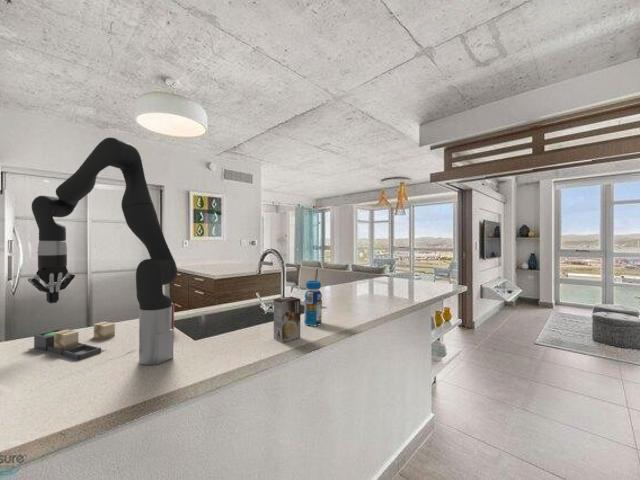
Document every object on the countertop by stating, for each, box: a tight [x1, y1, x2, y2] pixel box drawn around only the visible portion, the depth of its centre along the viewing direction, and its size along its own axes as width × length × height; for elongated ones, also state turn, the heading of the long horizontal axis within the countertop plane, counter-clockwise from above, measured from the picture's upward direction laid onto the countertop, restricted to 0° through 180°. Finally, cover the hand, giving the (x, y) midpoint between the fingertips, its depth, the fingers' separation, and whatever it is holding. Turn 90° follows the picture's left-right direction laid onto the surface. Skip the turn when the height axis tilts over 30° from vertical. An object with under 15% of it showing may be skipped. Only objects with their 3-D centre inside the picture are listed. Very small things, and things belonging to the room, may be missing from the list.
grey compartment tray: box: [27, 328, 107, 363], centre depth 99 cm, size 25×10×6 cm, turn 68°
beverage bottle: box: [303, 280, 323, 327], centre depth 136 cm, size 8×8×20 cm
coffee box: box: [273, 296, 301, 343], centre depth 116 cm, size 9×6×16 cm
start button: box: [44, 332, 55, 337], centre depth 102 cm, size 4×4×3 cm
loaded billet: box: [54, 329, 79, 350], centre depth 99 cm, size 6×4×6 cm, turn 68°
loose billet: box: [93, 321, 116, 340], centre depth 112 cm, size 6×4×6 cm, turn 68°
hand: (52, 302), depth 102 cm, fingers closed
